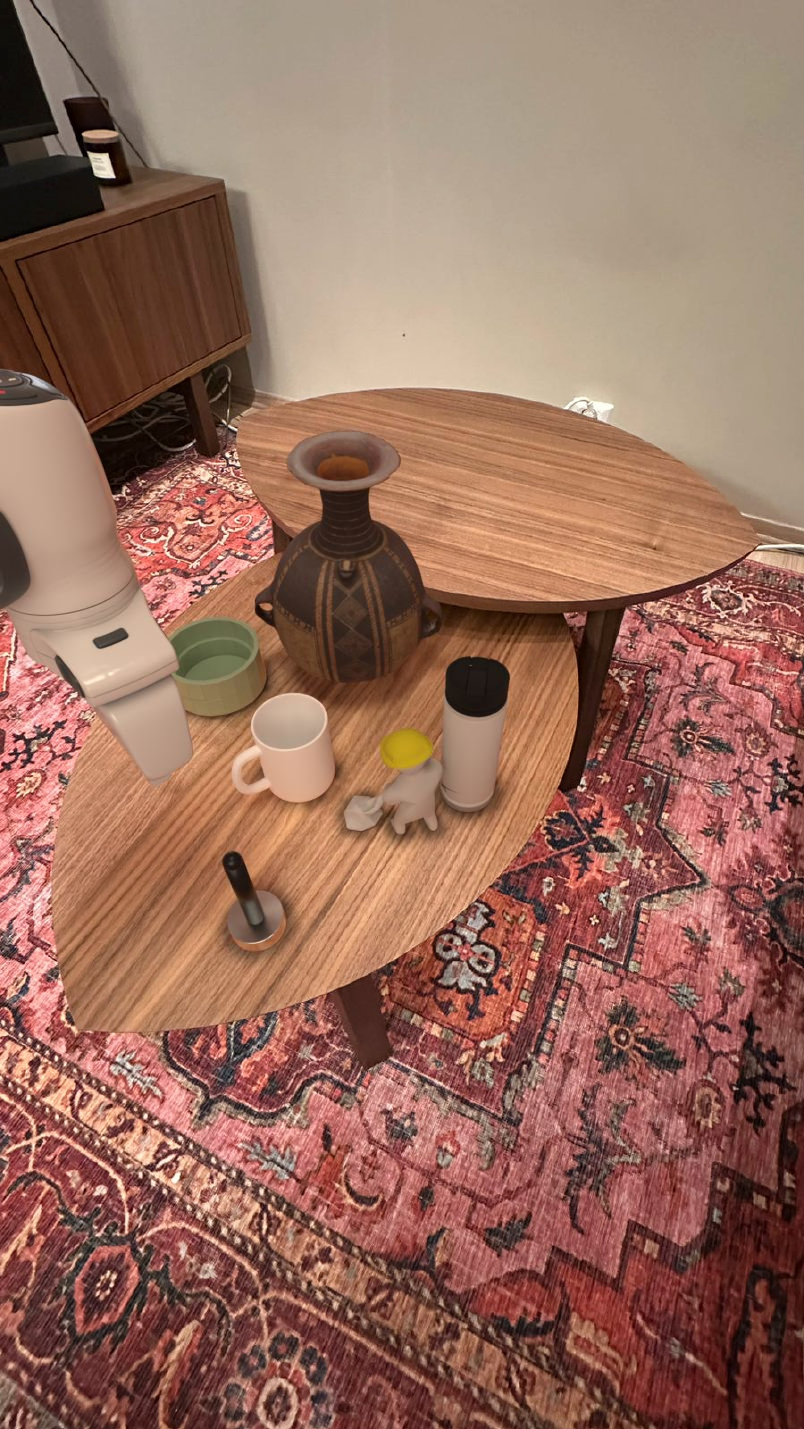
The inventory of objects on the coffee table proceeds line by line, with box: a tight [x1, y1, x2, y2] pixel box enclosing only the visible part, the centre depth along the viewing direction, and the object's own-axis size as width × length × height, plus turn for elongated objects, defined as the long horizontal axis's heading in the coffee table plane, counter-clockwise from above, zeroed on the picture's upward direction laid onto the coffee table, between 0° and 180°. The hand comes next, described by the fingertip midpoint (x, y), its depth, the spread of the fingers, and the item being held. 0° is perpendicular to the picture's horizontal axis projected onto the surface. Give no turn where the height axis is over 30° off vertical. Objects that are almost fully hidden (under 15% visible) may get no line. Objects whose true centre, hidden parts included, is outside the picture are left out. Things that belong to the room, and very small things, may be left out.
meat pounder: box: [221, 850, 287, 952], centre depth 64 cm, size 6×6×14 cm
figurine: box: [343, 727, 443, 835], centre depth 72 cm, size 10×9×15 cm
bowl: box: [167, 616, 268, 717], centre depth 89 cm, size 12×12×6 cm
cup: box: [231, 692, 336, 803], centre depth 77 cm, size 8×12×10 cm
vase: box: [254, 429, 443, 684], centre depth 83 cm, size 23×19×30 cm
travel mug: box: [439, 655, 511, 813], centre depth 72 cm, size 6×7×20 cm
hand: (133, 746), depth 59 cm, fingers open, 8 cm apart
